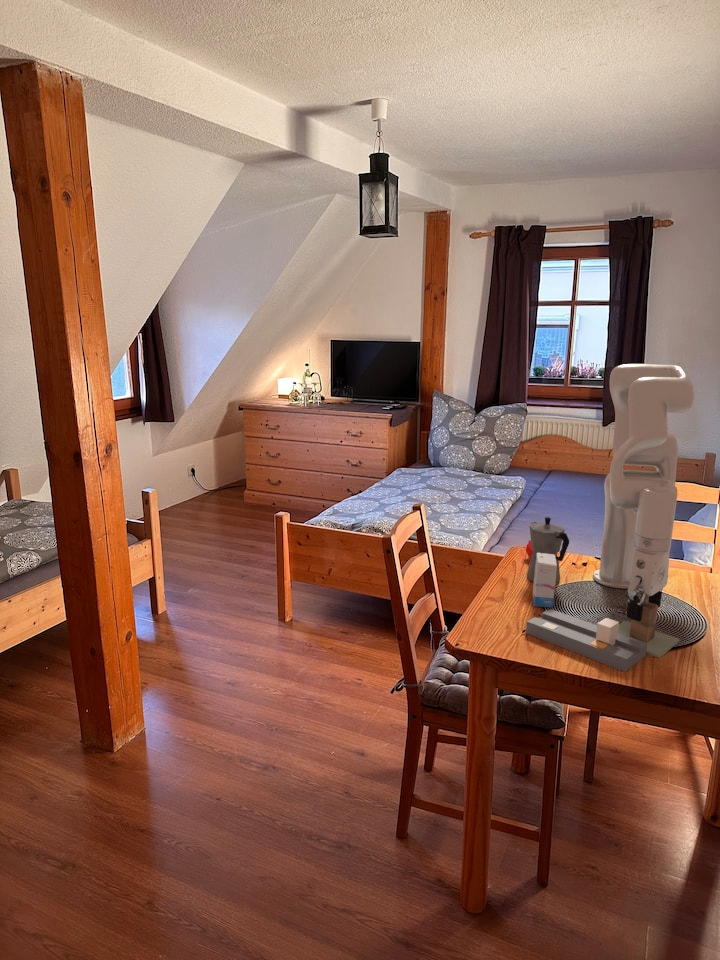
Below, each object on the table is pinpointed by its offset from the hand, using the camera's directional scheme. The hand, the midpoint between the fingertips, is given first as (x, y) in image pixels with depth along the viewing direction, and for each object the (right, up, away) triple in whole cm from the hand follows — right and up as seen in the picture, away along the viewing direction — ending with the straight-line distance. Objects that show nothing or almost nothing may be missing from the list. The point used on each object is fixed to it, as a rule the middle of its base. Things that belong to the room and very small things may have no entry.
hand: (643, 612), depth 154 cm
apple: (-11, +6, +50) cm, 52 cm away
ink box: (-17, -1, +22) cm, 28 cm away
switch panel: (-14, -7, -1) cm, 16 cm away
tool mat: (0, -7, +1) cm, 7 cm away
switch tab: (-10, -6, -5) cm, 13 cm away
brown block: (0, -6, +1) cm, 6 cm away
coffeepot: (-13, +2, +35) cm, 38 cm away
